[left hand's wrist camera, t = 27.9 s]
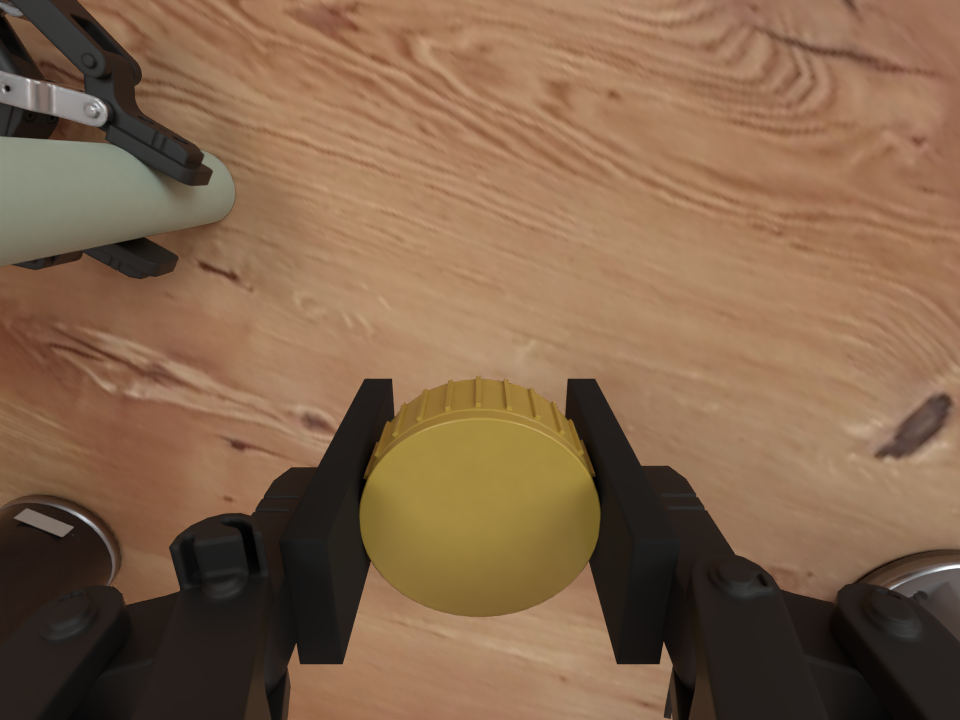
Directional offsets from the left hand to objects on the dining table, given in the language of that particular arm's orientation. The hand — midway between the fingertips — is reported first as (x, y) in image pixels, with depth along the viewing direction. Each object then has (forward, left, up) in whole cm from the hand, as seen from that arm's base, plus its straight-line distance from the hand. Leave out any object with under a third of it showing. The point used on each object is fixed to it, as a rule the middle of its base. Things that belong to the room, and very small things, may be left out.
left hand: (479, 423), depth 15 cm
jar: (+3, +17, -19) cm, 25 cm away
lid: (0, 0, +4) cm, 4 cm away
